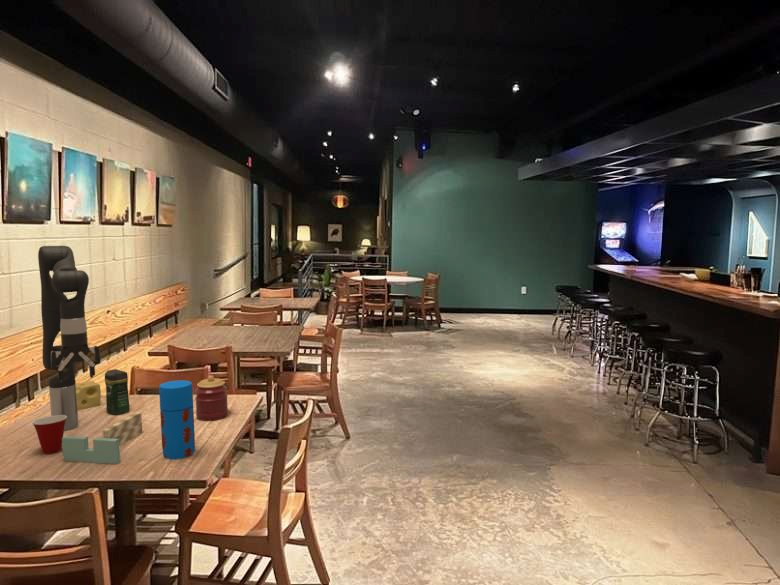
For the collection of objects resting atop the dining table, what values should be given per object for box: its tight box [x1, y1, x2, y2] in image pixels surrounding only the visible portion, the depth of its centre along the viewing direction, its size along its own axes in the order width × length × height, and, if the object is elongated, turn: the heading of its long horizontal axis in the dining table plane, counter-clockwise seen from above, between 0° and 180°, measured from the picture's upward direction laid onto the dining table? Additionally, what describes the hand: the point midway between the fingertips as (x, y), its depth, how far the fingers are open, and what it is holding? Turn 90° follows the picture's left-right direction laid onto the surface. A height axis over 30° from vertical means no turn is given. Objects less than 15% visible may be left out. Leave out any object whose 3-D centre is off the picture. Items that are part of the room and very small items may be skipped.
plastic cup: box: [31, 415, 67, 455], centre depth 203 cm, size 11×11×12 cm
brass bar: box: [102, 412, 143, 447], centre depth 211 cm, size 20×2×8 cm, turn 171°
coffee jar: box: [104, 368, 130, 415], centre depth 246 cm, size 10×8×19 cm
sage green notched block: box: [62, 435, 121, 465], centre depth 194 cm, size 20×2×8 cm, turn 81°
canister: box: [194, 374, 229, 422], centre depth 240 cm, size 13×13×18 cm
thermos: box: [158, 379, 196, 460], centre depth 199 cm, size 11×11×25 cm
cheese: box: [76, 380, 102, 411], centre depth 256 cm, size 10×11×10 cm
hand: (77, 379), depth 189 cm, fingers open, 8 cm apart
